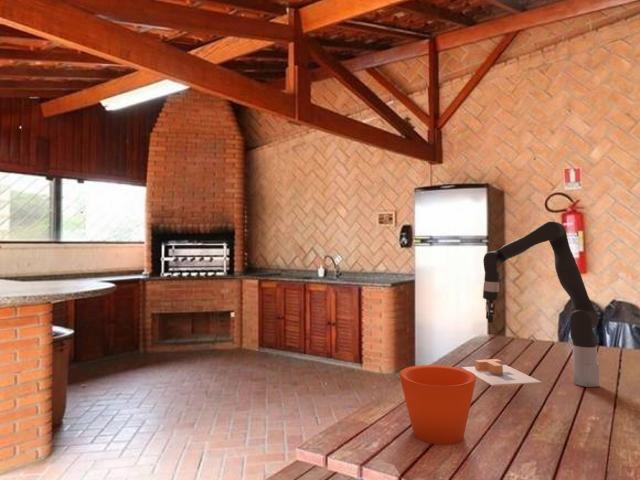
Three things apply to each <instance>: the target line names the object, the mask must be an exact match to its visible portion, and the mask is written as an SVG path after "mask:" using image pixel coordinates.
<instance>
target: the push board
mask: <svg viewBox="0 0 640 480" xmlns="http://www.w3.org/2000/svg"><path fill="white" fill-rule="evenodd" d="M502 365H503V374H494V373H492V372H490V371H488V370H478V369H476V368H475V366H461V369H464V370H467V371H470V372H472V373H473V374H475V375H476V378H479V379H481V380H482V381H484V382H485V383H487V384H489V387H497V386H498V387H499V386H516V385H517V386H518V385H529V384H530V385H531V384H534V383H535V384H542V381H541V380H539V379H536V378H535V377H532V376H530V375H527V374H526V373H524V372H521V371H519V370H517V369H515V368H513V367H510V366H509V365H507V364H502Z"/></svg>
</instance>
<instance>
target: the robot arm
mask: <svg viewBox="0 0 640 480" xmlns="http://www.w3.org/2000/svg"><path fill="white" fill-rule="evenodd" d="M545 242H549V243H550V246H551V249H552V251H553V255H554V267H555V272H556V274H557V275H556V276H557V278H558V281H559V283H560V285H561V287H562V288H563V290H564V291H565V292H566V294H567V295H568V296H569V298H570V299H571V301H572V302H573V306H574V309H575V311H573V312H571V314H570V316H569V333H570V338H571V341H572V367H573V369H572V370H573V371H572V372H573V384H575V385H577V386H581V387H584V388H585V387H586V388H596V387H597V388H599V387H600V370H599V369H600V368H599V364H598V360H597V359H598V352H597V348H598V345H597V340H596V338H594V336H593V329H594V328H596V327H597V326H598V324H599V316H598V313H597V312H596V309H595V307H594V305H593V304H592V301H591V299H590V297H589V295H588V291H587V289H586V286H585V283H584V280H583V277H582V274H581V272H580V269H579V266H578V264H577V261H576V258H575V256H574V254H573V252H572V250H571V247H570V244H569V239H568V236H567V231H566V227H565V226H564V225H563V224H562V223H560V222H558V221H557V222H556V221H546V222H544V223H543V224H542V225H540V226H538V227H537V228H535V229H534V230H532V231H531V232H529V233H528V234H526V235H524V236H522V237H520V238H517V239H516V240H513V241H511V242H508V243H507V244H504V245H503V246H501V248H499V249H496V250H494V251H487V252H486V253H485V254H484V256H483V268H484V279H483V280H484V282H483V290H482V291H483V293H482V298H483V299H484V300H485V312H486V313H485V319H486V320H487V323H489V324H492V323H494V320H493V319H494V316H495V306H496V304H495V302H494V301H498V300H499V292H500V291H499V290H500V284H499V283H500V272H499V270H498V267H497V266H498V265H499V264H501V263H502V264H503V263H504V262H505V261H507V260H509V259H511V258H512V259H513V258H515V257H517V256H519V255H521V254H523V253H525V252H527V251H528V250H529V249H532V248H533V247H534V246H536V245H538V244H541V243H545Z"/></svg>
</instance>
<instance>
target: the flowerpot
mask: <svg viewBox="0 0 640 480" xmlns="http://www.w3.org/2000/svg"><path fill="white" fill-rule="evenodd" d="M398 375H399V379H400V384H401V387H402V392H403V395H404V400H405V404H406V409H407V412H408V416H409V420H410V425H411V427H412V431H413V435H414V437H415V438H417V439H418V440H420V441H422V442H424V443H428V444H431V445H437V446H448V445H449V446H450V445H455V444H458V443H460V442H462V441H463V440H464V437H465V432H466V429H467V428H466V427H467V423H468V418H469V415H470V409H471V404H472V399H473V395H474V392H475V390H474V389H475V386H476V381H477V376H476V375H475V374H473V373H472V372H470V371H467V370H465V369H464V368H462V367H461V368H460V367H454V366H449V365H440V364H439V365H438V364H422V365H413V366H408V367H406V368H403V369H401V370H400V371H399V374H398Z"/></svg>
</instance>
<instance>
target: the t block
mask: <svg viewBox="0 0 640 480" xmlns="http://www.w3.org/2000/svg"><path fill="white" fill-rule="evenodd" d="M474 365H475V368H476V369H478V370H488V371H490V372H492V373H494V374H503V365H504V364H503V362H502V360H500V359H498V358H494V359H493V358H492V359H490V358H489V359H475V360H474Z"/></svg>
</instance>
